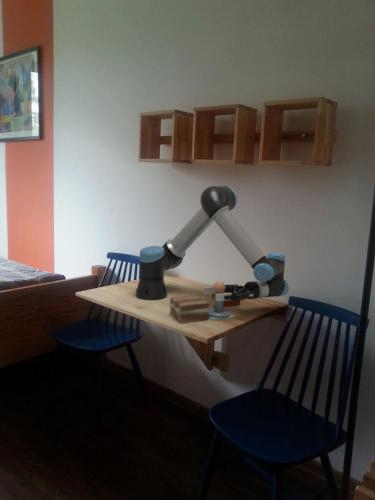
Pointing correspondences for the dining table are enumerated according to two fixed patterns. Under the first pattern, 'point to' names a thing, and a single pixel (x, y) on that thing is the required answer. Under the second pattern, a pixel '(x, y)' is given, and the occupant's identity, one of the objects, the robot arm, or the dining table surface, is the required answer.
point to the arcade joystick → (218, 303)
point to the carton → (228, 301)
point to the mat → (221, 318)
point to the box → (189, 309)
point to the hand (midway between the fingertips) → (210, 294)
